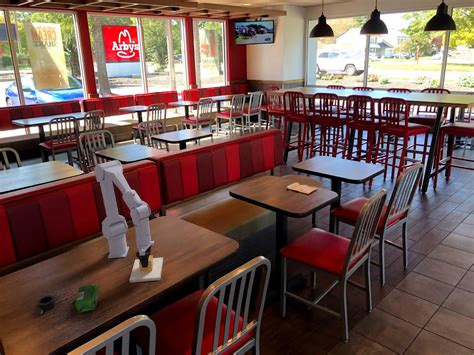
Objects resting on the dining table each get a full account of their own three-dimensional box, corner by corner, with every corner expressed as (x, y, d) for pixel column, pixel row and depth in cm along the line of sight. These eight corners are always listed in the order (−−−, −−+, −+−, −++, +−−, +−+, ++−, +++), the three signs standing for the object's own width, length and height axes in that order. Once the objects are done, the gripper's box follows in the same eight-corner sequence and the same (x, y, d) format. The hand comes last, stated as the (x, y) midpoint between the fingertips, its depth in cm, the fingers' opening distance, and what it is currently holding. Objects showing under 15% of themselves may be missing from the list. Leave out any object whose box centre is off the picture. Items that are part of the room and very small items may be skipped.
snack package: (75, 319, 132) (73, 306, 131) (80, 293, 147) (78, 281, 145) (96, 315, 134) (94, 303, 132) (100, 290, 148) (98, 278, 147)
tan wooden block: (141, 265, 163) (140, 256, 161) (153, 264, 163) (152, 255, 162) (140, 271, 158) (138, 262, 157) (152, 270, 158) (151, 261, 157)
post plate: (135, 262, 168) (134, 253, 167) (163, 259, 169) (162, 251, 168) (129, 282, 153) (128, 273, 151) (160, 279, 154) (159, 270, 153)
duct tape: (28, 310, 138) (27, 303, 137) (55, 296, 146) (54, 289, 145) (39, 318, 134) (37, 311, 133) (66, 303, 141) (64, 297, 140)
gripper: (150, 240, 149) (154, 270, 153) (154, 224, 163) (157, 253, 167) (132, 241, 148) (136, 272, 153) (137, 225, 162) (141, 254, 166)
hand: (146, 262), depth 160 cm, fingers open, 7 cm apart
